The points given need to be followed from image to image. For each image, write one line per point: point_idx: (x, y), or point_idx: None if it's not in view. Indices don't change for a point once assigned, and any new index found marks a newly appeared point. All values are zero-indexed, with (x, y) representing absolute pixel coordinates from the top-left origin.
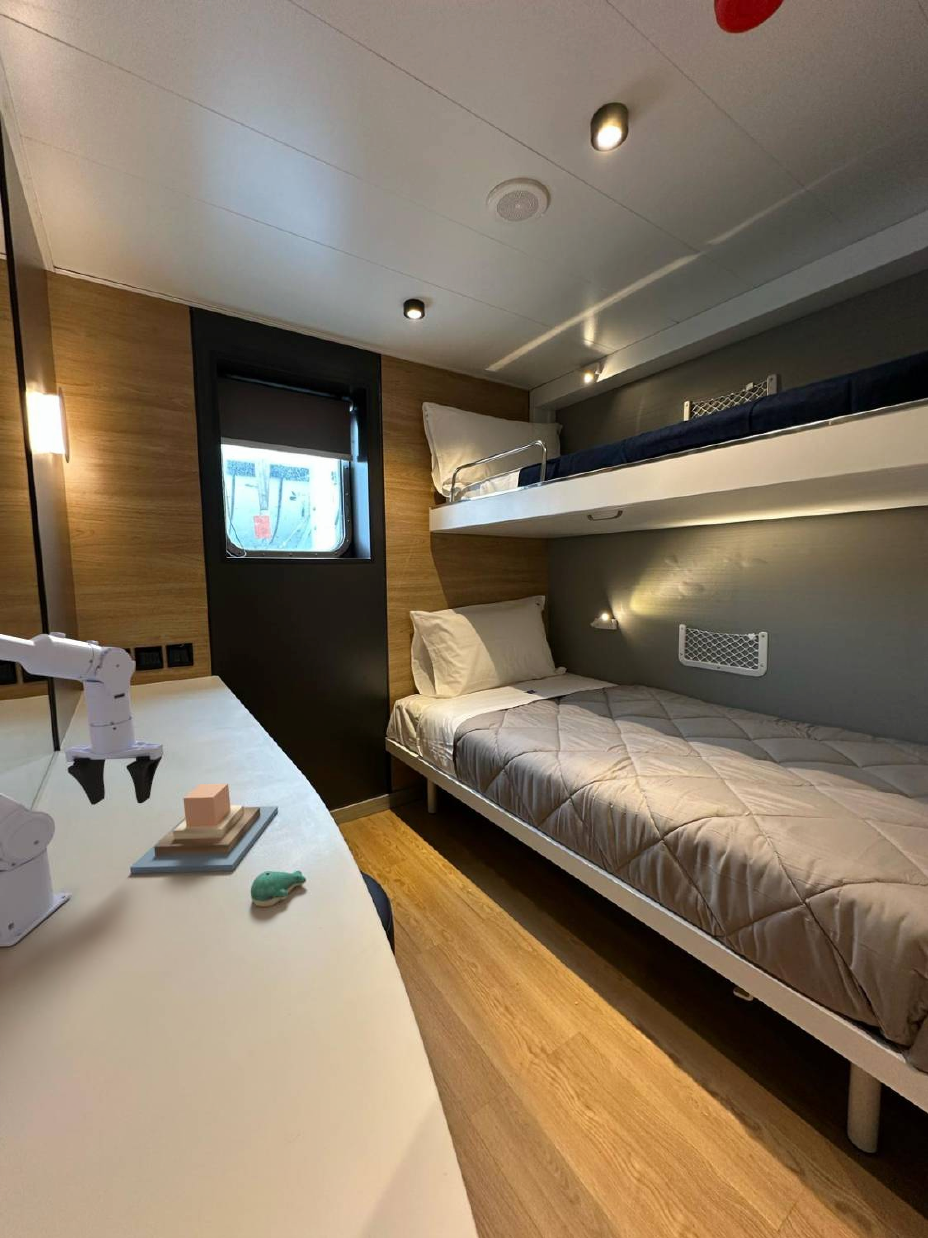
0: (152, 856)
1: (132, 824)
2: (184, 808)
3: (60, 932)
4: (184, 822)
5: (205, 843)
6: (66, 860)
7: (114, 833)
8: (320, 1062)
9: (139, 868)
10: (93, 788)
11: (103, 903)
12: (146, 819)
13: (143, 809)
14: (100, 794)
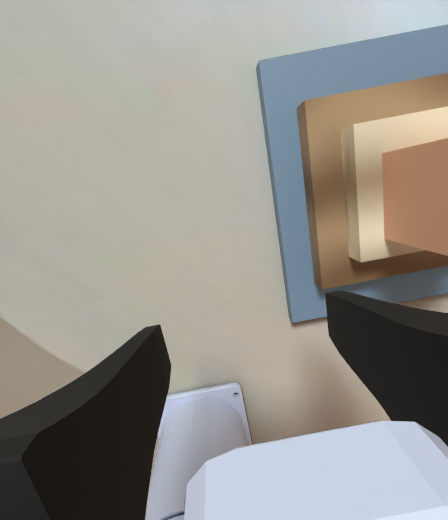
0: (311, 286)
1: (120, 150)
2: (424, 249)
3: (293, 433)
4: (365, 220)
5: (436, 261)
6: (114, 303)
7: (114, 197)
8: None
9: (310, 318)
10: (154, 409)
11: (305, 382)
12: (135, 119)
13: (69, 61)
14: (158, 352)
